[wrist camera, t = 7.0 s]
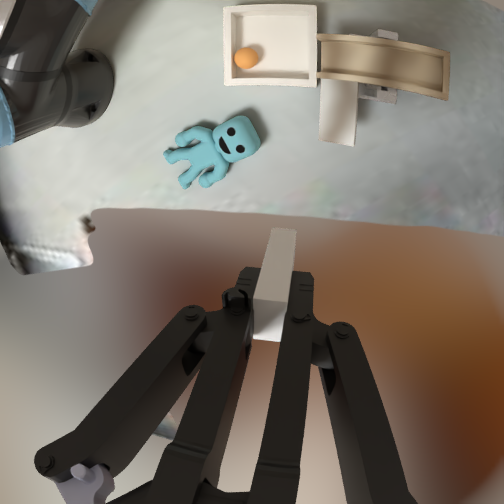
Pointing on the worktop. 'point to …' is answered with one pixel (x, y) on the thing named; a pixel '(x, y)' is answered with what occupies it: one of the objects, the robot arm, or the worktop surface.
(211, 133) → the toy
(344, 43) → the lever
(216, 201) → the worktop surface
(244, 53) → the ball
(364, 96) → the fulcrum
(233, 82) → the dish
